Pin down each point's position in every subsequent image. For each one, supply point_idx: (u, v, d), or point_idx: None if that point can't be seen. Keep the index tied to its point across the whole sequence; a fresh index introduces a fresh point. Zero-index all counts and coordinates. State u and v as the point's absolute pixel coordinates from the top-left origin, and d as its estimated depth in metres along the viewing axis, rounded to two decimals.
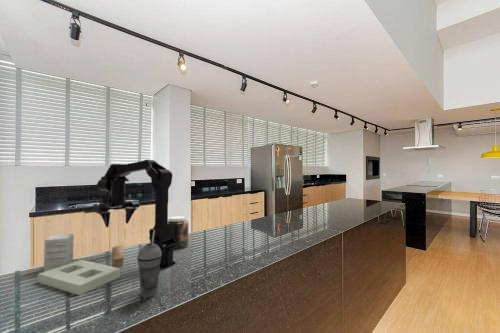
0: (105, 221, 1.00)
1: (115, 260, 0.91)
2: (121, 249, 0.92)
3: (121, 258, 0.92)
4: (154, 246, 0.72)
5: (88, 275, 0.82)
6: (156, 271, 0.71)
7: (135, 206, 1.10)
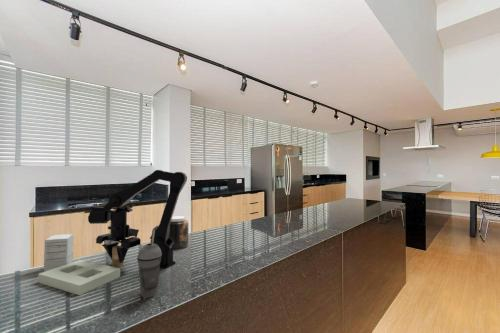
0: None
1: (115, 260, 0.91)
2: None
3: None
4: (154, 246, 0.72)
5: (88, 275, 0.82)
6: (156, 271, 0.71)
7: (123, 246, 0.88)
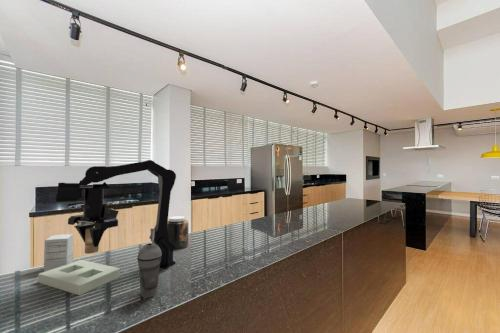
0: None
1: (88, 243, 0.79)
2: None
3: None
4: (154, 246, 0.72)
5: (88, 275, 0.82)
6: (156, 271, 0.71)
7: (96, 226, 0.76)
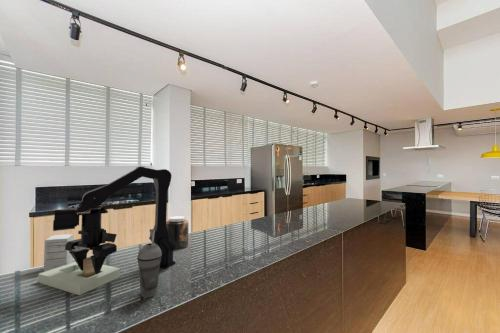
0: None
1: (86, 274, 0.78)
2: None
3: (94, 272, 0.79)
4: (154, 246, 0.72)
5: None
6: (156, 271, 0.71)
7: (95, 254, 0.75)
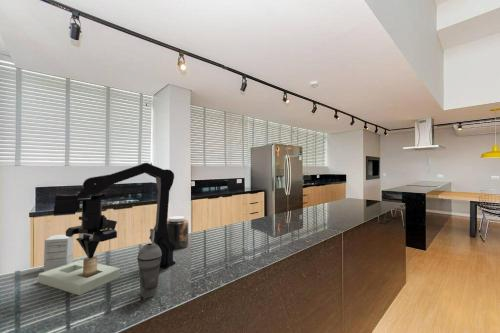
0: None
1: (86, 274, 0.78)
2: (94, 261, 0.79)
3: (94, 272, 0.79)
4: (154, 246, 0.72)
5: None
6: (156, 271, 0.71)
7: (95, 239, 0.75)
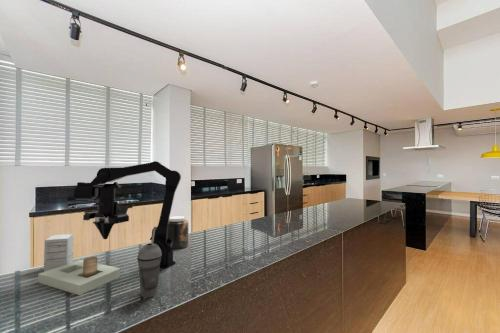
0: None
1: (86, 274, 0.78)
2: (94, 261, 0.79)
3: (94, 272, 0.79)
4: (154, 246, 0.72)
5: None
6: (156, 271, 0.71)
7: (110, 221, 0.85)
